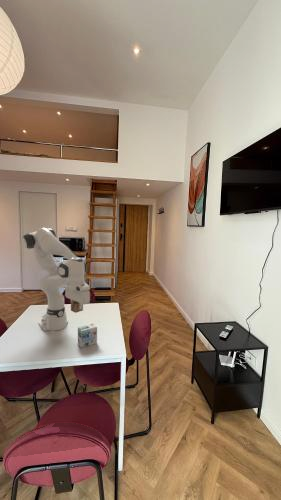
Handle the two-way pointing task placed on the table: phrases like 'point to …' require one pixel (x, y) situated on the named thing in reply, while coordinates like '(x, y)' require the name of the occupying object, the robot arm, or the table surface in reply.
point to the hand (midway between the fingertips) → (76, 307)
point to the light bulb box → (87, 335)
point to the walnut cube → (75, 307)
